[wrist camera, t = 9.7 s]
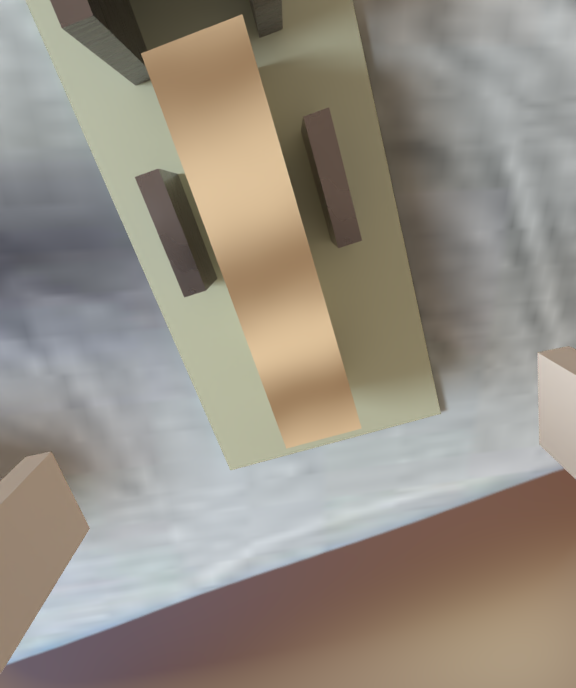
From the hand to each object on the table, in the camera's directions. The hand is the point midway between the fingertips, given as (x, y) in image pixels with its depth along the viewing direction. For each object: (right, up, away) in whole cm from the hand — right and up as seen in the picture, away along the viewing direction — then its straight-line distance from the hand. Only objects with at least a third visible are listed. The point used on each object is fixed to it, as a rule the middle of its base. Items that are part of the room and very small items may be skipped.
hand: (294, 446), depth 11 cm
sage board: (-2, +11, +12) cm, 16 cm away
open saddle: (-2, +10, +11) cm, 16 cm away
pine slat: (-1, +8, +12) cm, 15 cm away
